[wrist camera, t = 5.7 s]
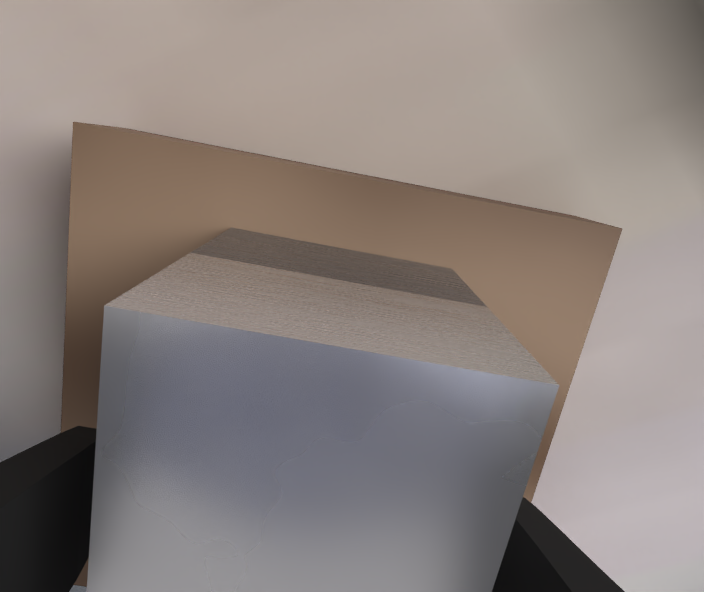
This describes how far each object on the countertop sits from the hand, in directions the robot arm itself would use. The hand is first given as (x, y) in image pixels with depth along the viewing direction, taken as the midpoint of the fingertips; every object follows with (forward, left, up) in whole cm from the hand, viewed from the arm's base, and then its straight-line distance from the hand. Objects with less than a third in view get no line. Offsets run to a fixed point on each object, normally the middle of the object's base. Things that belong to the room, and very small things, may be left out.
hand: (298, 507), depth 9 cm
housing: (0, 0, -3) cm, 3 cm away
